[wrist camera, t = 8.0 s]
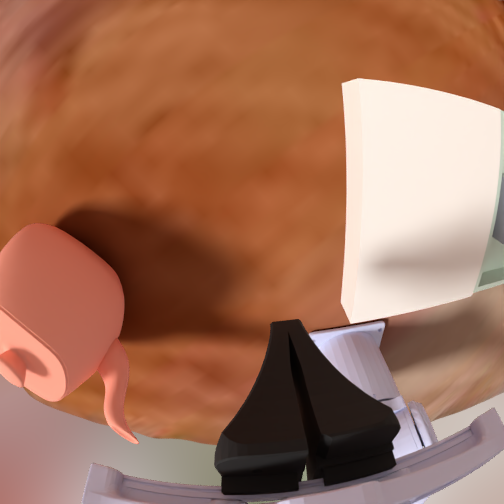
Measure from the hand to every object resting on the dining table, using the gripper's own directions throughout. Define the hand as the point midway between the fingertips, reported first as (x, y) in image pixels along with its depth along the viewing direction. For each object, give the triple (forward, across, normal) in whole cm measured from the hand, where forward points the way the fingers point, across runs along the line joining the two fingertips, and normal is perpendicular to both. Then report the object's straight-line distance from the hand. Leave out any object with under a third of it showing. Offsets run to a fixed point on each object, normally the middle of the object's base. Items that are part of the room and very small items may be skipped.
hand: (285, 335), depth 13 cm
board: (+9, -13, -3) cm, 16 cm away
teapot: (+10, +18, +2) cm, 21 cm away
